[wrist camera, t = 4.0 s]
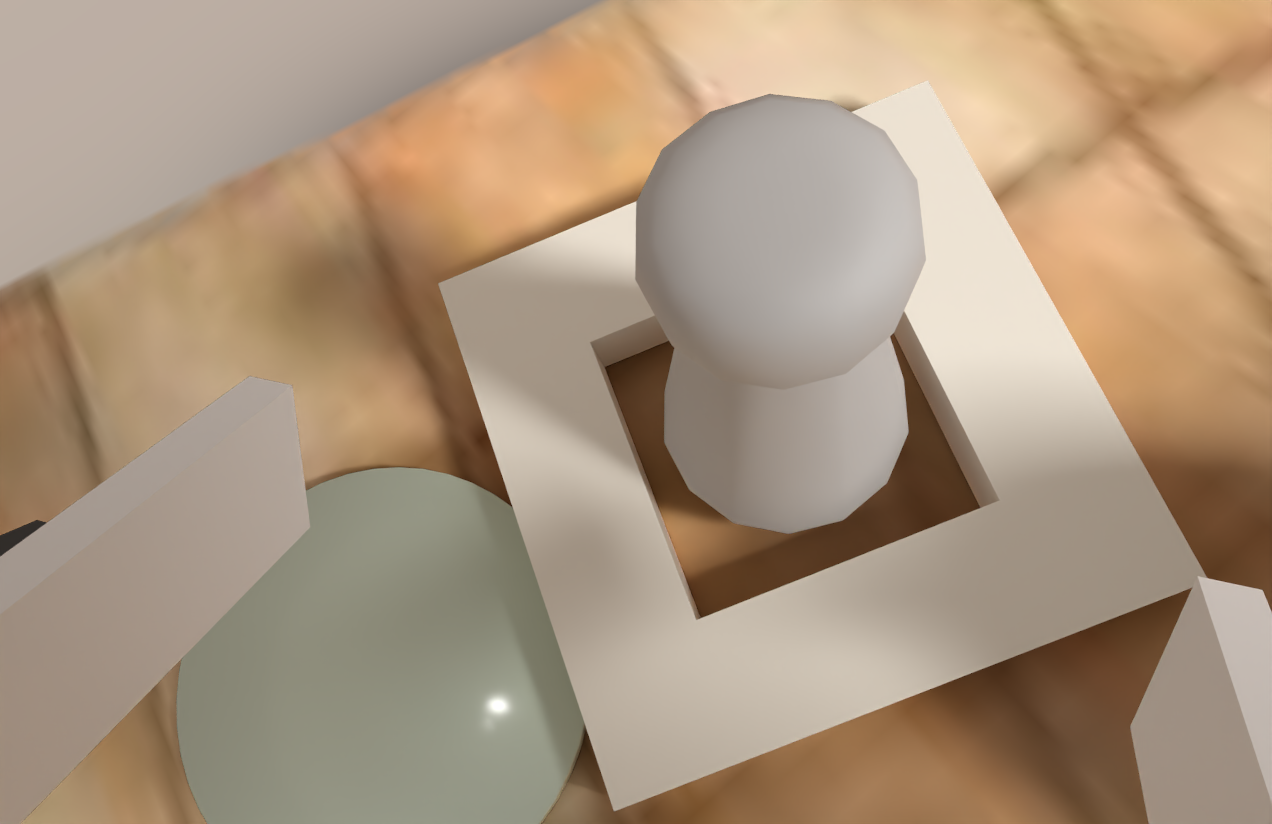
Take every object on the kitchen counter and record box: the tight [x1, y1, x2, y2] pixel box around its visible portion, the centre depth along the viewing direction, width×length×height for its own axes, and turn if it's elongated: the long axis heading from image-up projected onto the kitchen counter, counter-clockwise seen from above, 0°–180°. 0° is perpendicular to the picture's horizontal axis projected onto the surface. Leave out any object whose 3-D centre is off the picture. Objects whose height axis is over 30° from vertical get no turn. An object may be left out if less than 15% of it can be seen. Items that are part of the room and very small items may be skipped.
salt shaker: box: [635, 94, 926, 534], centre depth 20 cm, size 6×6×13 cm
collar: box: [438, 80, 1207, 811], centre depth 25 cm, size 14×14×2 cm
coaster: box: [176, 467, 586, 824], centre depth 26 cm, size 11×11×1 cm
